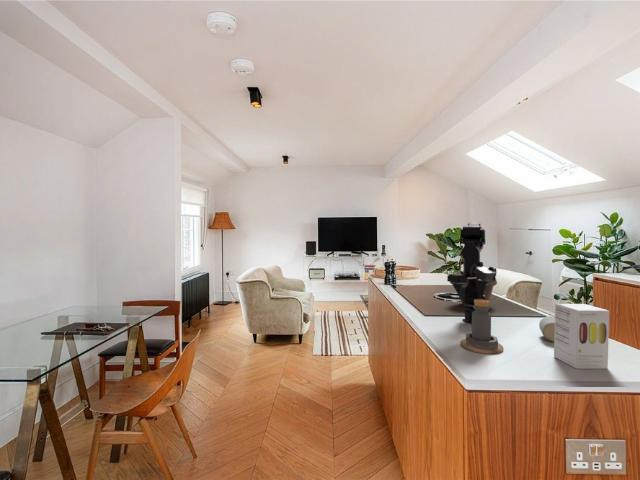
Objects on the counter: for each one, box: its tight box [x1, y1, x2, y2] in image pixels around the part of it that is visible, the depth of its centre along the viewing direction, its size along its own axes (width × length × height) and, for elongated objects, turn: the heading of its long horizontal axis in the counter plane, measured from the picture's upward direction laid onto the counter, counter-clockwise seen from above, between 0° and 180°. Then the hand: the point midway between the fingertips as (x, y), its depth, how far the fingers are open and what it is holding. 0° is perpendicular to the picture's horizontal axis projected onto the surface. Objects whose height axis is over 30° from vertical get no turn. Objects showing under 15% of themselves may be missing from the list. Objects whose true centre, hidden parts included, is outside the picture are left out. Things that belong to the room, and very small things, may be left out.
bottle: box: [471, 299, 492, 341], centre depth 111 cm, size 6×6×15 cm
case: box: [456, 269, 498, 306], centre depth 173 cm, size 18×20×18 cm
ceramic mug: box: [538, 315, 555, 343], centre depth 118 cm, size 11×8×8 cm
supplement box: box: [553, 303, 610, 370], centre depth 98 cm, size 10×9×17 cm
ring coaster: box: [460, 332, 504, 355], centre depth 112 cm, size 13×13×3 cm
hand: (471, 299), depth 125 cm, fingers open, 9 cm apart
